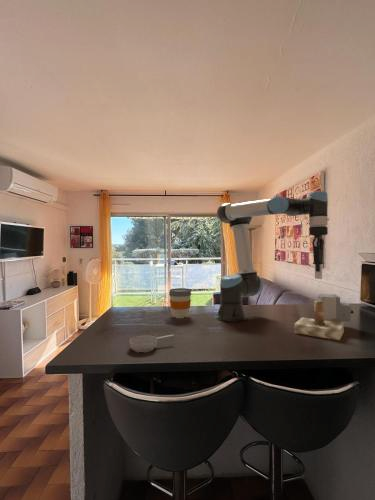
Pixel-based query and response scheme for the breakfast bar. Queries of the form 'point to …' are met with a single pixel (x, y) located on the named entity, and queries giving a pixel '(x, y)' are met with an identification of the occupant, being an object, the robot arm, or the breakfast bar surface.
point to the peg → (319, 312)
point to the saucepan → (145, 343)
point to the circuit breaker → (335, 308)
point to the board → (319, 328)
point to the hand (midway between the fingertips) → (318, 278)
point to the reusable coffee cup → (180, 302)
